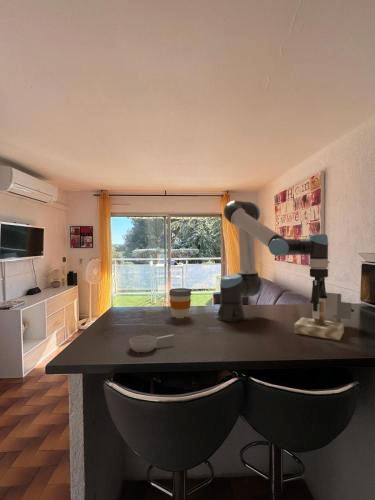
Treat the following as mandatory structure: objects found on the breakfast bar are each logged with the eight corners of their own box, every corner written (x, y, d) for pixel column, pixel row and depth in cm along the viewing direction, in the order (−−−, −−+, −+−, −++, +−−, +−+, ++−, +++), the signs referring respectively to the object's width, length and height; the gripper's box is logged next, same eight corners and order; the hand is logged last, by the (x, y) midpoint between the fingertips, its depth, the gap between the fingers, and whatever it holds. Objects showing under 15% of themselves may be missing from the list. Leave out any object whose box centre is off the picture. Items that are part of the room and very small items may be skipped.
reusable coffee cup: (195, 315, 160) (195, 289, 160) (183, 320, 150) (183, 292, 149) (177, 312, 167) (177, 287, 167) (164, 317, 156) (164, 290, 156)
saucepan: (127, 346, 112) (126, 336, 112) (169, 339, 119) (169, 330, 119) (132, 355, 102) (132, 345, 102) (178, 348, 109) (178, 338, 109)
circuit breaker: (354, 327, 129) (355, 295, 131) (321, 324, 132) (322, 292, 134) (349, 326, 136) (349, 295, 139) (317, 322, 139) (318, 292, 142)
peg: (313, 332, 126) (313, 301, 126) (315, 330, 129) (315, 300, 129) (323, 334, 123) (323, 302, 123) (325, 331, 127) (324, 301, 126)
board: (294, 332, 126) (294, 323, 126) (302, 325, 137) (302, 317, 137) (339, 340, 115) (339, 330, 115) (343, 331, 127) (343, 322, 126)
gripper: (322, 270, 113) (322, 322, 114) (332, 266, 134) (332, 310, 134) (303, 270, 118) (303, 320, 118) (315, 266, 138) (316, 308, 138)
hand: (319, 315), depth 126 cm, fingers open, 13 cm apart
